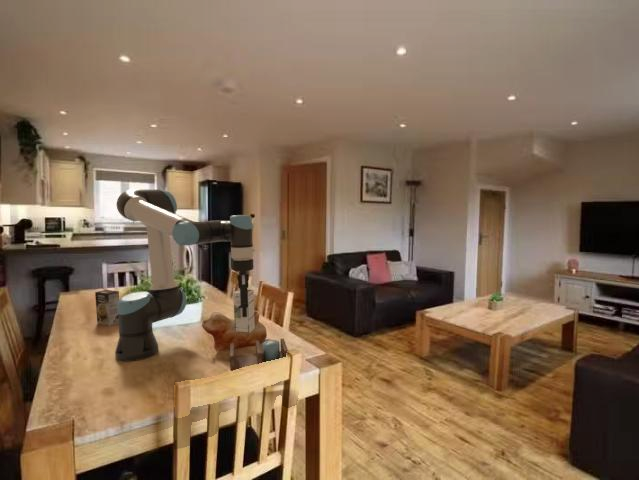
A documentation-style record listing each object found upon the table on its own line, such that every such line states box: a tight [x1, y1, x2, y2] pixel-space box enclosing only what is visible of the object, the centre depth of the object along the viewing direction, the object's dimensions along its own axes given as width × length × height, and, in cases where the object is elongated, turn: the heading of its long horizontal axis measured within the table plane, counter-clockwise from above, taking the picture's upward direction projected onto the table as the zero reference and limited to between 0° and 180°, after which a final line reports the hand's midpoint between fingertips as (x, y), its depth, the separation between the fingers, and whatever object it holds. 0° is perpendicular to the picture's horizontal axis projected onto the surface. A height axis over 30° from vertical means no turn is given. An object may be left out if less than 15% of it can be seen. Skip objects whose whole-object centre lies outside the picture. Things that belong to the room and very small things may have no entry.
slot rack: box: [229, 338, 289, 371], centre depth 132 cm, size 20×12×6 cm, turn 103°
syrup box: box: [232, 289, 255, 333], centre depth 130 cm, size 6×6×14 cm
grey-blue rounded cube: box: [262, 339, 281, 361], centre depth 133 cm, size 6×6×6 cm
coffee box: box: [94, 289, 120, 327], centre depth 180 cm, size 9×6×16 cm
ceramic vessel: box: [201, 310, 268, 352], centre depth 149 cm, size 14×26×15 cm, turn 115°
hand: (244, 321), depth 130 cm, fingers closed on syrup box, 7 cm apart
